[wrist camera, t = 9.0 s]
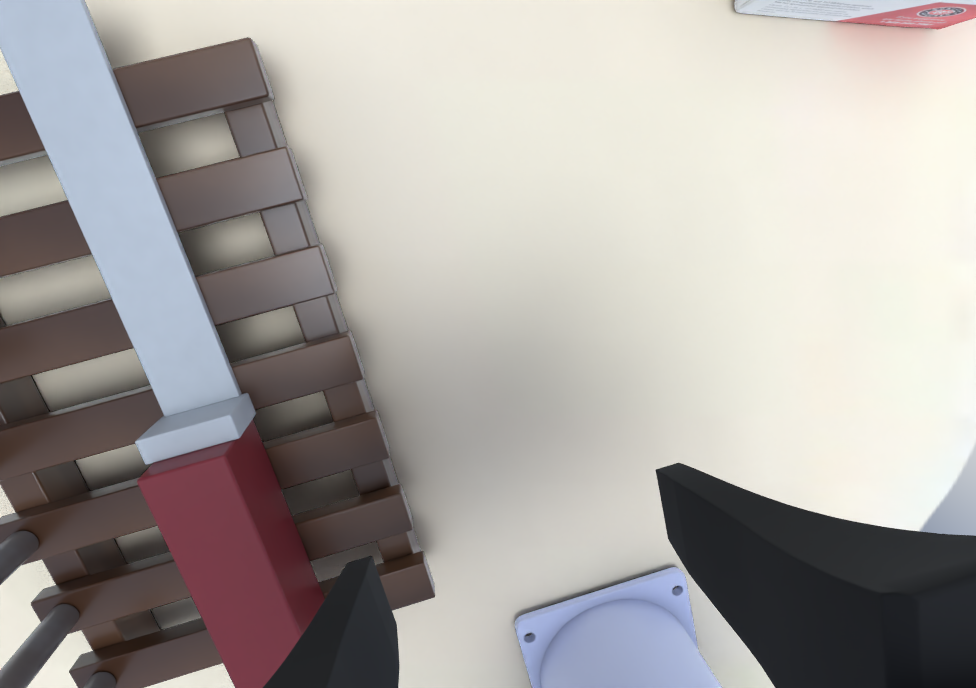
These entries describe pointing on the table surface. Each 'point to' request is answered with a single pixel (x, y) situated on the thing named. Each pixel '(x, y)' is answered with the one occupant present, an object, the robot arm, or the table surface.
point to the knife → (168, 351)
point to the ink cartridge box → (868, 11)
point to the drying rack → (126, 416)
